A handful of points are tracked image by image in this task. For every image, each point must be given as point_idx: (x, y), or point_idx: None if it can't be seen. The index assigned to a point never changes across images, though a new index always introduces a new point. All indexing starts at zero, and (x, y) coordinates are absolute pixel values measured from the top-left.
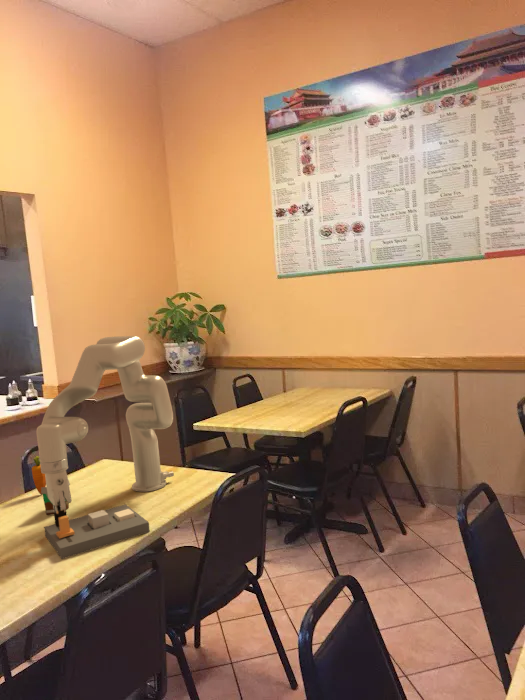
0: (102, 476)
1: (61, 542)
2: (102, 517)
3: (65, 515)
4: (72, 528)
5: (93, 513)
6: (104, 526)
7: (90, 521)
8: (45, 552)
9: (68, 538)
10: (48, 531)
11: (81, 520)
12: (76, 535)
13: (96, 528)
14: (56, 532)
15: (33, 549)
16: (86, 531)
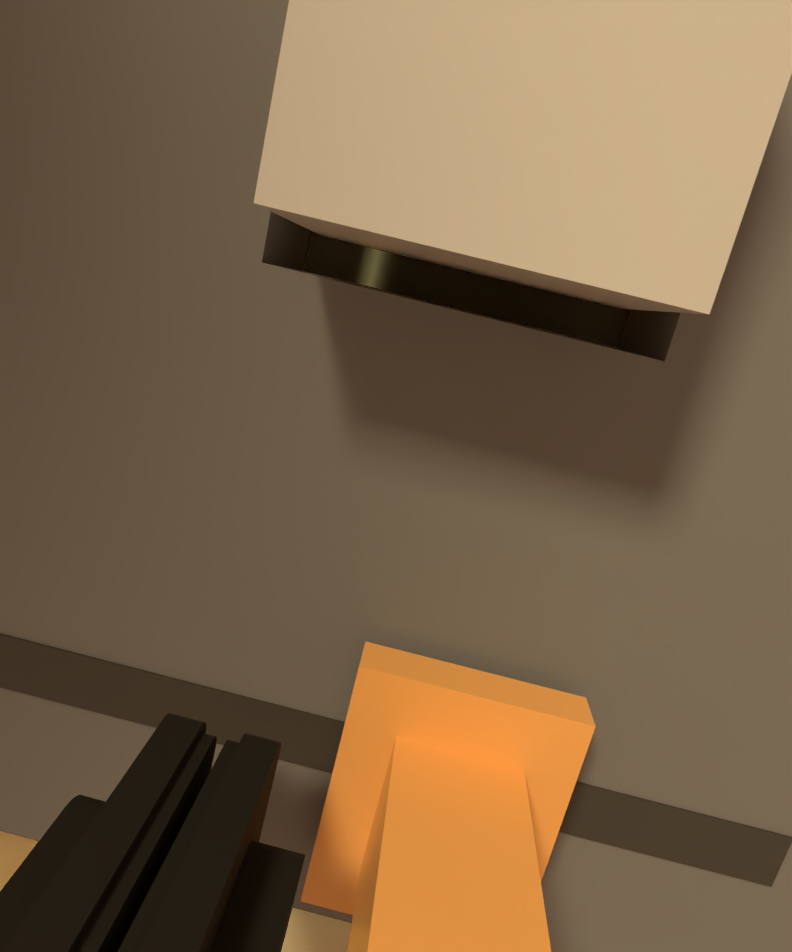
0: None
1: (648, 940)
2: (789, 13)
3: (214, 924)
4: (260, 558)
5: (358, 66)
6: (788, 107)
7: (442, 258)
8: None
9: (618, 816)
10: (36, 831)
11: (15, 239)
12: (628, 680)
13: None
14: (328, 906)
15: None
16: (639, 483)
